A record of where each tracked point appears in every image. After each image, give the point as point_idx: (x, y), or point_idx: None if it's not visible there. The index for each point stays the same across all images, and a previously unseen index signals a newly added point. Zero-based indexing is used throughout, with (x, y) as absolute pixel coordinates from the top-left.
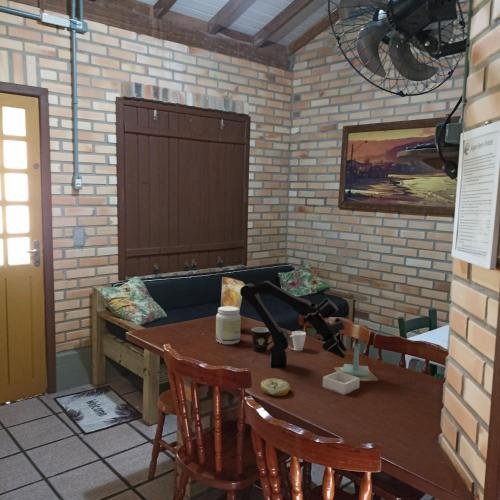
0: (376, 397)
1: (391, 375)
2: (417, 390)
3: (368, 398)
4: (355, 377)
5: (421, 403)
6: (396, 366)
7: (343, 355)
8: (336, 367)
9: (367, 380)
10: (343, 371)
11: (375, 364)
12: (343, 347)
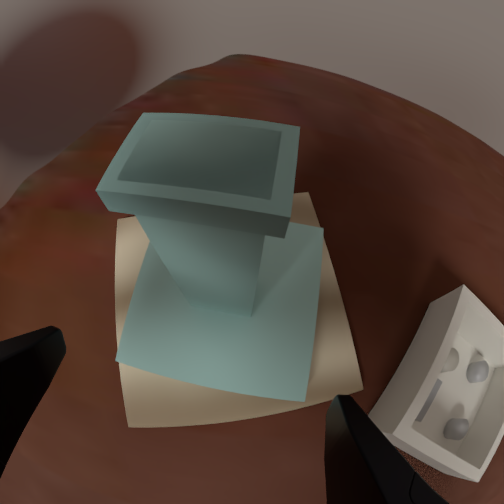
0: (476, 243)
1: None
2: (356, 106)
3: (492, 273)
4: (465, 308)
5: (442, 134)
6: (114, 116)
7: (359, 417)
8: (130, 415)
9: (323, 246)
10: (301, 394)
11: (76, 178)
12: (35, 363)
